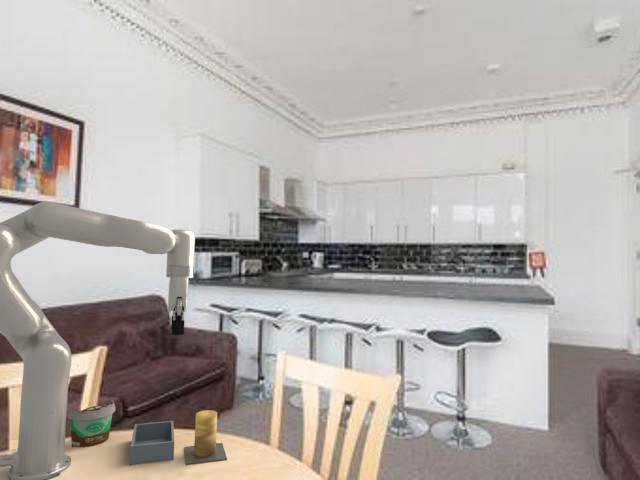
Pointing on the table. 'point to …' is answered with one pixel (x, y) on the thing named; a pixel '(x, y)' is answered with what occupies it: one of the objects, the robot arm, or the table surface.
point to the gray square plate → (193, 459)
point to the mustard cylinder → (205, 433)
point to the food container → (91, 425)
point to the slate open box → (152, 443)
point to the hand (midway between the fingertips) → (177, 331)
